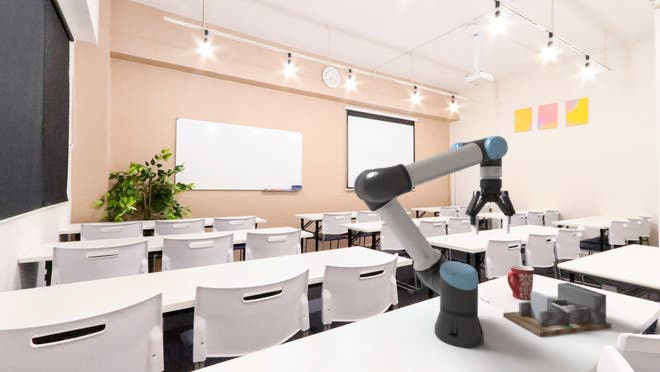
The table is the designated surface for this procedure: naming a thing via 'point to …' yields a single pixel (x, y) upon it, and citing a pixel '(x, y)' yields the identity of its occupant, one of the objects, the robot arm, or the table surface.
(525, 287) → the mug
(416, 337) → the table surface
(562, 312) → the grey block structure
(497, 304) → the stylus pen
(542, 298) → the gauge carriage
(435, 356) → the table surface
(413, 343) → the table surface
